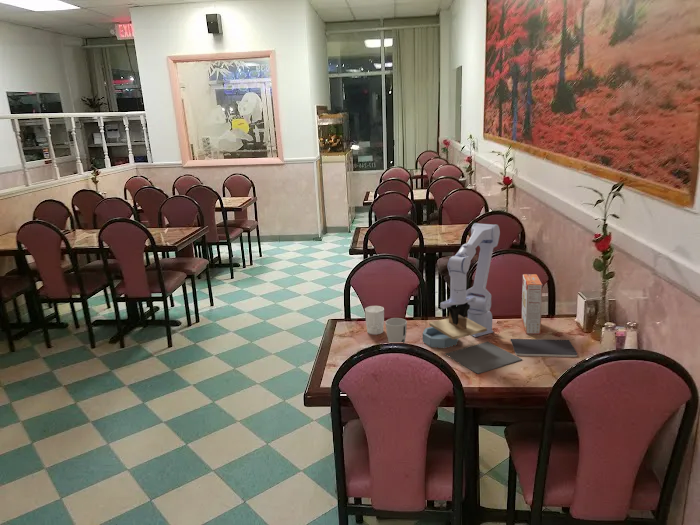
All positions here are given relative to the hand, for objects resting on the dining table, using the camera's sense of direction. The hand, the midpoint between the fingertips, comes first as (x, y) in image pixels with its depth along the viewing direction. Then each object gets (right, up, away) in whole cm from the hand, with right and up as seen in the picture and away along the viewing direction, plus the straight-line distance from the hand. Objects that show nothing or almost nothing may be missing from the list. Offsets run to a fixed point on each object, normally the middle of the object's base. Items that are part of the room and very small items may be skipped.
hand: (458, 323), depth 188 cm
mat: (+8, -12, -6) cm, 15 cm away
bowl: (-5, -8, +9) cm, 13 cm away
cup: (-22, -10, +7) cm, 25 cm away
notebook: (+31, -10, -2) cm, 33 cm away
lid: (0, -2, +1) cm, 2 cm away
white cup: (-30, -6, +22) cm, 37 cm away
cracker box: (+33, -4, +17) cm, 38 cm away
